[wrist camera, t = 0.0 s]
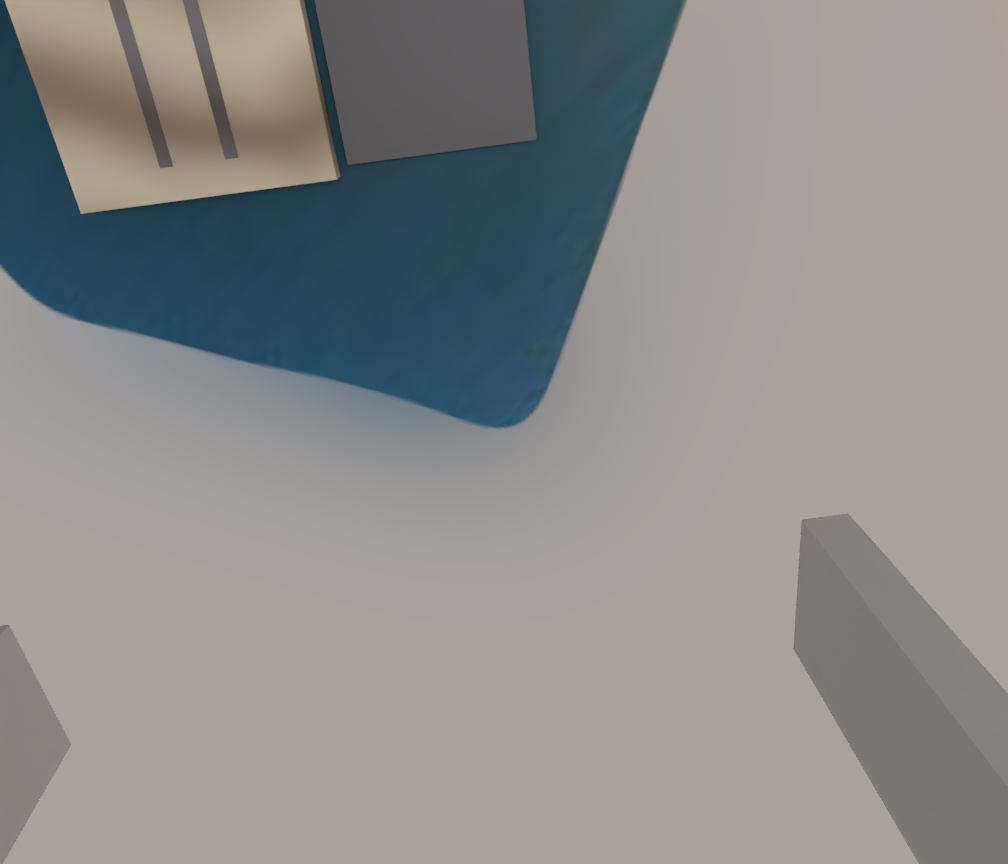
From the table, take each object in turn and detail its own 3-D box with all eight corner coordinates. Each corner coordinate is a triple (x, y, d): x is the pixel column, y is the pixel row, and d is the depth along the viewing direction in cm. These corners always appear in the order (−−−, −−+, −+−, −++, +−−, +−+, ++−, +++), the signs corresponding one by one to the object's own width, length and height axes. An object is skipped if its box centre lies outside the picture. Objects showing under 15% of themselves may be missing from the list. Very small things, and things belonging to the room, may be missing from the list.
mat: (286, -146, 30) (284, -149, 30) (506, -176, 30) (506, -178, 30) (348, 164, 36) (347, 165, 35) (536, 138, 36) (536, 139, 35)
